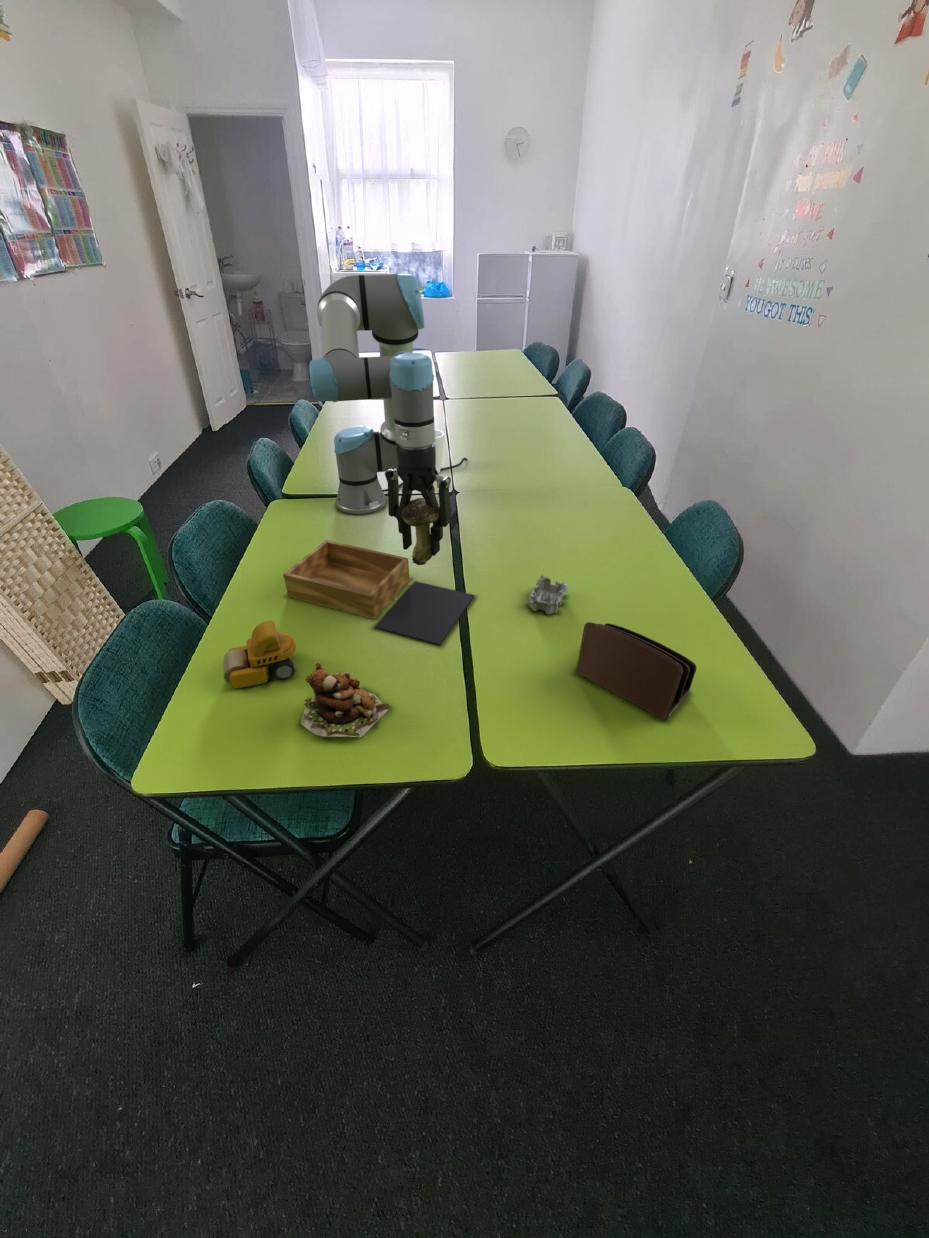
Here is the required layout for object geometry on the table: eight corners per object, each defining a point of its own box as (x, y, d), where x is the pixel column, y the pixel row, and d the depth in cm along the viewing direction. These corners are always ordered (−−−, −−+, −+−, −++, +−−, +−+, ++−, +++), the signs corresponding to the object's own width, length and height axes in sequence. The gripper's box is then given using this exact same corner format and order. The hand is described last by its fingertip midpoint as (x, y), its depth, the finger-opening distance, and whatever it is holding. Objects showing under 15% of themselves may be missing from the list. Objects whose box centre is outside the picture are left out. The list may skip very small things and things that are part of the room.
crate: (329, 560, 149) (326, 539, 145) (409, 579, 141) (408, 558, 138) (288, 596, 136) (282, 574, 132) (374, 619, 128) (371, 596, 124)
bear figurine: (360, 753, 97) (352, 704, 90) (289, 728, 102) (276, 679, 94) (397, 701, 107) (392, 653, 100) (331, 680, 112) (322, 633, 105)
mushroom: (436, 578, 118) (436, 514, 109) (396, 572, 119) (393, 508, 110) (446, 555, 125) (447, 493, 116) (409, 550, 127) (407, 488, 117)
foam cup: (416, 474, 195) (413, 437, 187) (422, 464, 202) (420, 428, 194) (442, 476, 193) (441, 439, 186) (447, 466, 201) (446, 430, 193)
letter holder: (665, 722, 103) (683, 665, 94) (574, 673, 113) (583, 618, 105) (689, 693, 109) (707, 637, 100) (600, 649, 119) (610, 595, 111)
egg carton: (540, 586, 139) (541, 572, 136) (569, 594, 136) (571, 580, 134) (524, 609, 131) (525, 594, 129) (554, 617, 128) (556, 603, 126)
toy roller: (226, 665, 116) (212, 625, 109) (296, 649, 120) (287, 610, 113) (227, 694, 109) (213, 653, 103) (302, 675, 113) (292, 635, 107)
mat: (415, 583, 140) (415, 581, 140) (474, 597, 135) (474, 595, 135) (375, 628, 125) (374, 626, 125) (439, 646, 120) (439, 643, 120)
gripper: (362, 443, 106) (374, 549, 120) (453, 457, 101) (455, 567, 115) (381, 431, 112) (391, 533, 126) (469, 444, 106) (468, 550, 120)
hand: (421, 549), depth 120 cm, fingers closed on mushroom, 6 cm apart
